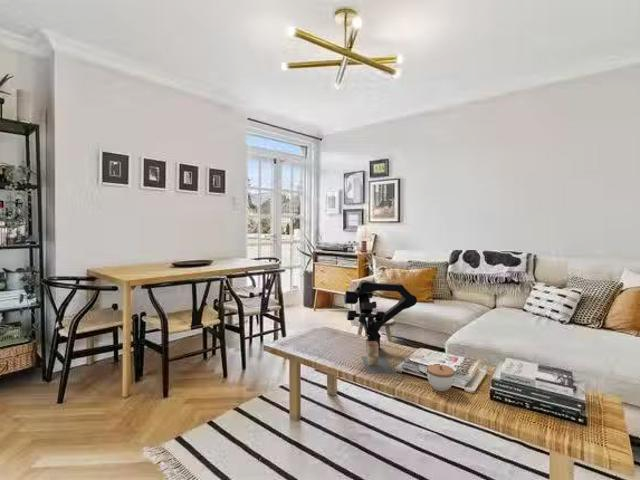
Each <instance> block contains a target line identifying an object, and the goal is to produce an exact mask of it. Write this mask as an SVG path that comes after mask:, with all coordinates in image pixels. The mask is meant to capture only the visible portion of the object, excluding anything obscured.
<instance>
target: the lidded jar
mask: <svg viewBox="0 0 640 480" xmlns="http://www.w3.org/2000/svg"><path fill="white" fill-rule="evenodd" d="M455 373H456V372H455V370H454V368H452V367H450V366H449V365H445V364H442V365H440V364H434V365H430V366H428V367H427V374H426V376H427V380H428V382H429V385H430V386H431V387H432V388H433V390H435V391H438V392H446V391H449V389H450V388H451V387H452V386H453V384H454V381H455Z"/></svg>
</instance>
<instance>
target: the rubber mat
mask: <svg viewBox="0 0 640 480" xmlns="http://www.w3.org/2000/svg"><path fill="white" fill-rule="evenodd" d="M360 358H361V360H362V362H363V364H364V366H365V369H366V371H367V373H368V374H370V375H371V374H395V373H396V371H395V370H394V368H393V367H392V366H391V364H390V362H389V361H388V359H387V357H386V356H385V355H378V365H368V363H367V355H361V356H360Z"/></svg>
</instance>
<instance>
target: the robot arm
mask: <svg viewBox="0 0 640 480" xmlns="http://www.w3.org/2000/svg"><path fill="white" fill-rule="evenodd" d="M358 283H359V284H358V286H357V287H356V288H355V290H354V291H353V290H351V291H350V290H345V294H344V299H343V300H344V304H345V305H356V304H359V313H358V312H357V310H350V309H349V310H348V311H347V315H346V319H347V321H354V320H355V318H358V320H357V321H358V323H360V324H361V326H362V327H363V329H364V330H363V331H364V332H365V334H366V335H367V336H366V339H365V340H366V341H365V347H366V348H367V341H377V343H378V351H379V350H380V351H381V337H382V335H381V334H380V333H379V331H380V329H381V328H382V326H384V325H385V324H386V323H387V322H388V321H390V320H391V319H393V318H394V317H396V316H397V315H398V314H400V313H401V312H402V311H403V310H406V309H410V308H412V307H414V306H415V305H416V304H417V303H418V299H417V297H416V296H415V294H413V293H410V291H408V290H407V288H405V286H404V285H403V284H402V283H391V282H388V283H387V282H386V283H385V282H374V281H371V280H365V279H362V280H361V281H360V282H358ZM374 292H398V293H399V294H400V296H401V297H400V298H399V300H398V302H397V303H396V304H395V305H393V306H392V307H390V308H389V309H388V310H386V311H385V312H384V311H378V310H377V311H376V313H373V310H374V309H376V308H377V306H378V304H377V301H372V302H371V301H370V299H372V298H373V295H374V294H373V293H374Z"/></svg>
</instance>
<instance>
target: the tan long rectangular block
mask: <svg viewBox="0 0 640 480" xmlns="http://www.w3.org/2000/svg"><path fill="white" fill-rule="evenodd" d="M366 356H367V363H368V365H378V356H379V350H378V343H377V341H367V347H366Z"/></svg>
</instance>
